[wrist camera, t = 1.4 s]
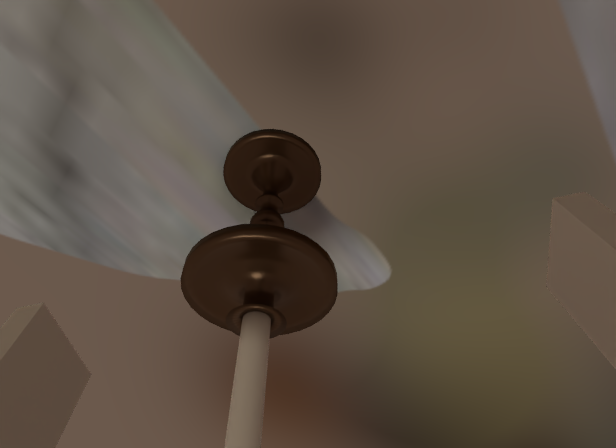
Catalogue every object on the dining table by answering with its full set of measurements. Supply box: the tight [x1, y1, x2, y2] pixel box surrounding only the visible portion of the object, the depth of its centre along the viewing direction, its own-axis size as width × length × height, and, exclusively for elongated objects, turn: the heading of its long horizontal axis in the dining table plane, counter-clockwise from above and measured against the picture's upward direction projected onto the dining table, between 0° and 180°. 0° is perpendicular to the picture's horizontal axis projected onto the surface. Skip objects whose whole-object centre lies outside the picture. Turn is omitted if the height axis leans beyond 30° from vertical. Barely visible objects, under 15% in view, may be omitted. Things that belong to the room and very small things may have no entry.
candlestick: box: [181, 129, 337, 448], centre depth 28 cm, size 11×11×35 cm
